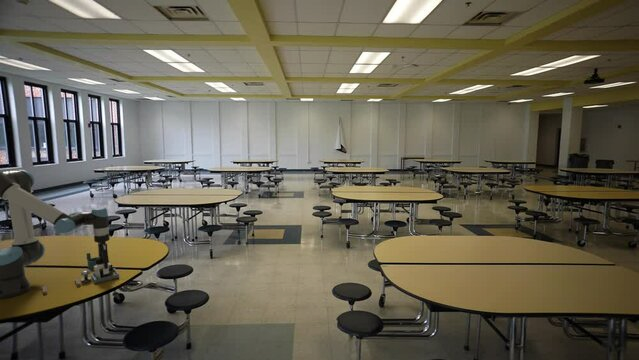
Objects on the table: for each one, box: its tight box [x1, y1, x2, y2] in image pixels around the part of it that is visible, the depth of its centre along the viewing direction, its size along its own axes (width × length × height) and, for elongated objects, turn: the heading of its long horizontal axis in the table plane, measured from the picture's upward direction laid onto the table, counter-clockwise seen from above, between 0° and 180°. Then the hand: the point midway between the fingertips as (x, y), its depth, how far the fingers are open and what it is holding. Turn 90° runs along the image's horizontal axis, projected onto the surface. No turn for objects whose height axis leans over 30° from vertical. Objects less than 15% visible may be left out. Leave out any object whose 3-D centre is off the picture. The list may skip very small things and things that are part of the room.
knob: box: [80, 269, 92, 283], centre depth 196 cm, size 5×5×6 cm
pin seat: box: [42, 277, 82, 296], centre depth 187 cm, size 16×10×2 cm, turn 131°
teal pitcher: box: [85, 252, 99, 270], centre depth 217 cm, size 9×9×9 cm
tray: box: [90, 267, 120, 285], centre depth 200 cm, size 12×12×2 cm
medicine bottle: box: [93, 256, 114, 278], centre depth 199 cm, size 7×7×12 cm
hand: (104, 270), depth 200 cm, fingers open, 10 cm apart
